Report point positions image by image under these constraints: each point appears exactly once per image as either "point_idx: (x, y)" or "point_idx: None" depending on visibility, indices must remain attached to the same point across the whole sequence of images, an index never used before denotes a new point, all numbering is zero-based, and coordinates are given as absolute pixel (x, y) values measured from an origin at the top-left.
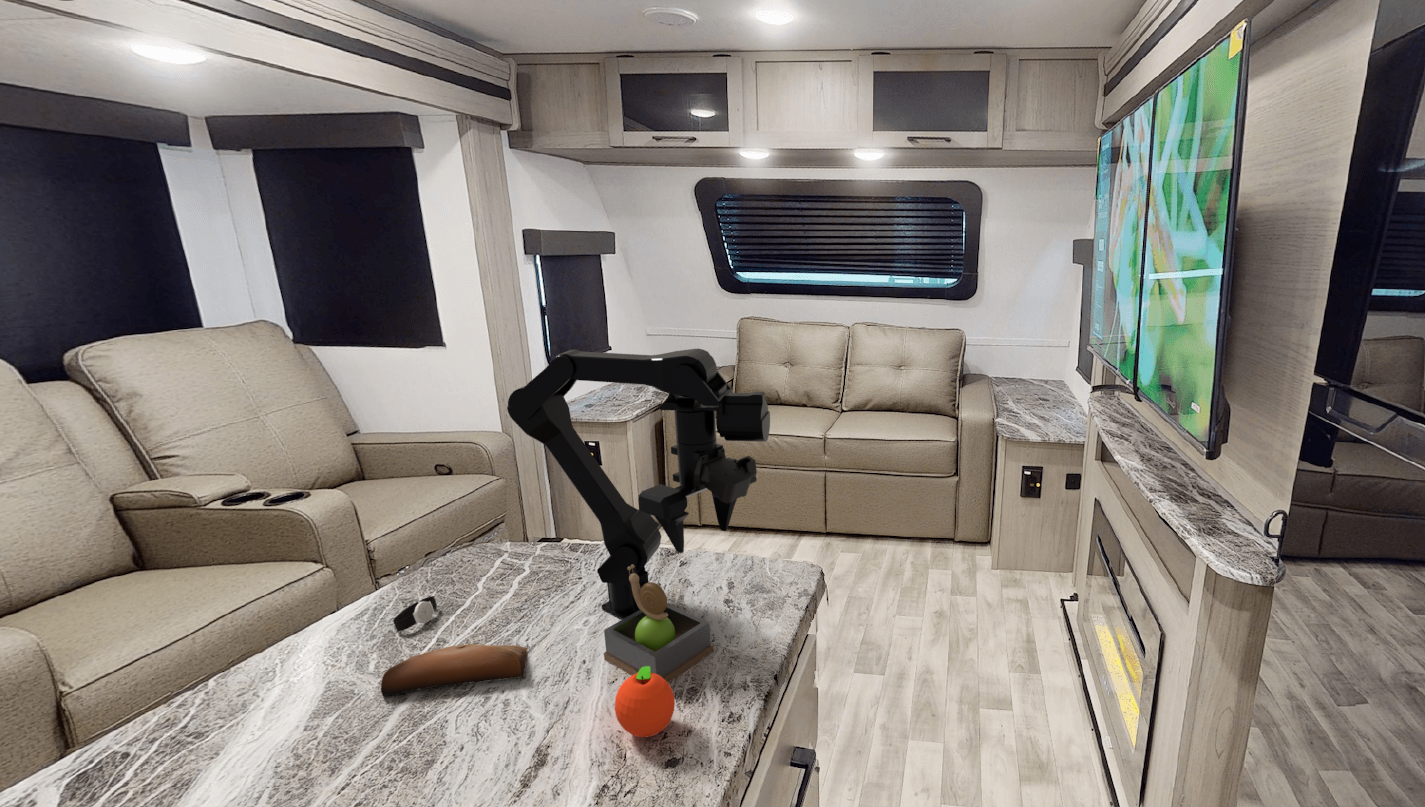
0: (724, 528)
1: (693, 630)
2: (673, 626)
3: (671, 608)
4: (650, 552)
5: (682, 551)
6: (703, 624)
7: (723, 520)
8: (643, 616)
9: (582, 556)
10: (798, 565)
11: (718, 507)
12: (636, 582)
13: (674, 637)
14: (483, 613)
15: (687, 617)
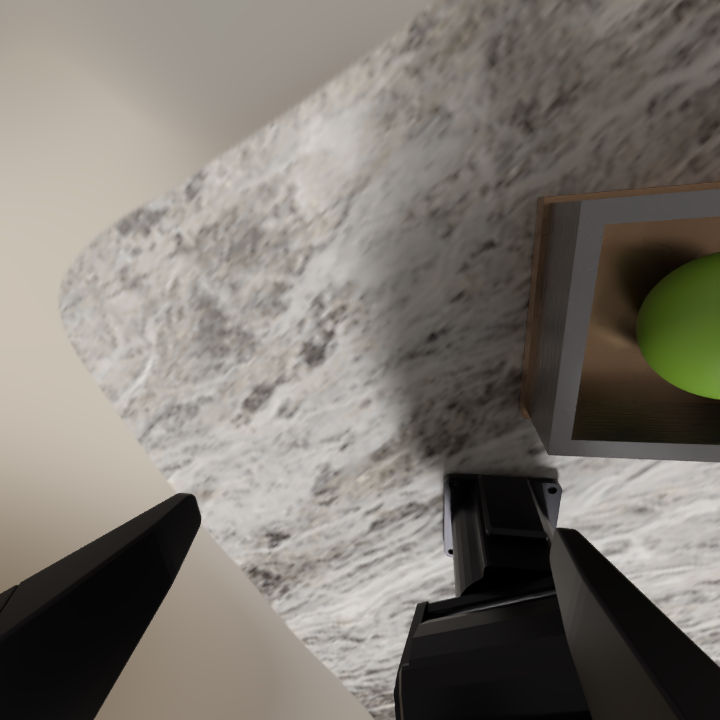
0: (184, 510)
1: (674, 204)
2: (702, 284)
3: (575, 384)
4: (536, 640)
5: (571, 534)
6: (612, 205)
7: (150, 557)
8: (641, 432)
9: None
10: (70, 329)
11: (91, 675)
12: None
13: (701, 260)
14: None
15: (592, 299)
